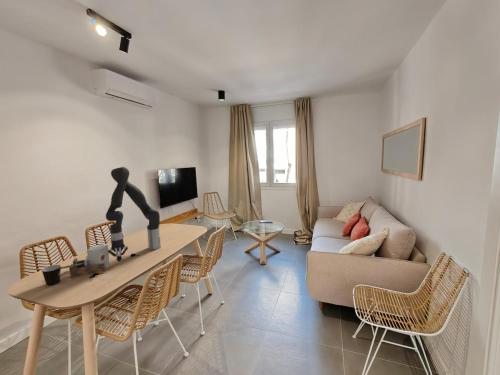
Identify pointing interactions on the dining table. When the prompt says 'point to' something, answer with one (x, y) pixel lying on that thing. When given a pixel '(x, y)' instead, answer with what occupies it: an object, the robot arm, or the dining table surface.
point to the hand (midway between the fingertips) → (119, 260)
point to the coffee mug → (52, 274)
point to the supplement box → (98, 255)
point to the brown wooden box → (84, 269)
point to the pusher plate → (79, 264)
